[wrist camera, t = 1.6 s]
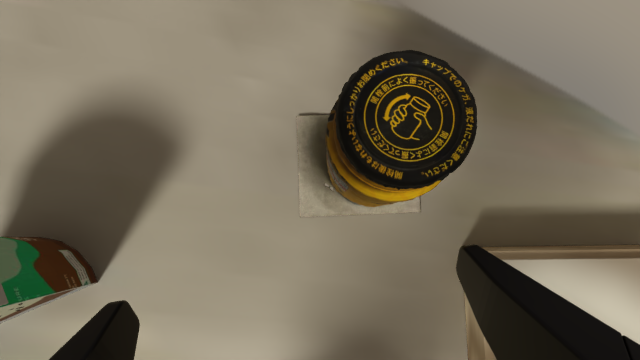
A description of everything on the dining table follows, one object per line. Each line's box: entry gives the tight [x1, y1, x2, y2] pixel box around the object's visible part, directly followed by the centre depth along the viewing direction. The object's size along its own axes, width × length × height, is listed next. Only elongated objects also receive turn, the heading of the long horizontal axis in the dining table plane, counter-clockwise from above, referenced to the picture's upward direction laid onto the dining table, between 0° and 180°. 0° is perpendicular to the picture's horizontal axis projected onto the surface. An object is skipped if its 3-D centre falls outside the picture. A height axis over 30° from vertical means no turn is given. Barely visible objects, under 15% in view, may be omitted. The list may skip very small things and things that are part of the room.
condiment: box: [296, 50, 477, 217], centre depth 18 cm, size 7×8×12 cm
